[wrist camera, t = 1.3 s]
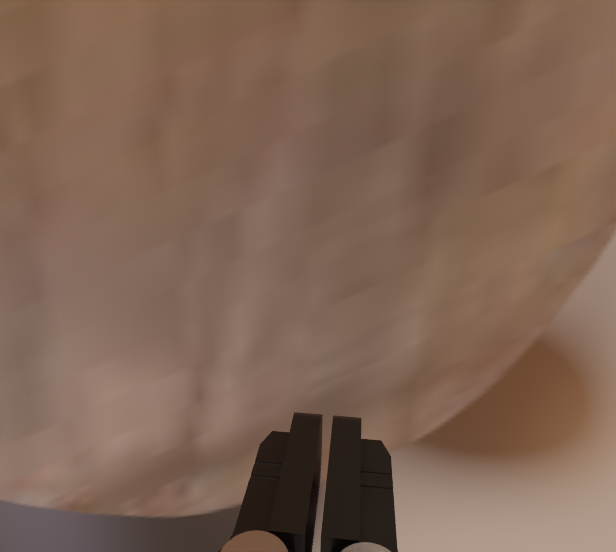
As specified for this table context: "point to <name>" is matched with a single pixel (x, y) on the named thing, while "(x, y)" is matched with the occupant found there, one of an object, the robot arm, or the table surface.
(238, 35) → the table surface
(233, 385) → the table surface
